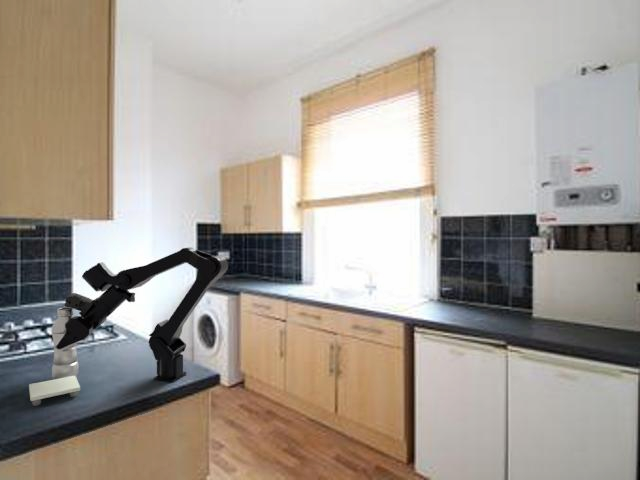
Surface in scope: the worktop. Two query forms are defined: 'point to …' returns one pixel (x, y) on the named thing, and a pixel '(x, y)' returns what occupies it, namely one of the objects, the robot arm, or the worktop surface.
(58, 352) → the plastic bottle
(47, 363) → the worktop surface
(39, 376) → the worktop surface
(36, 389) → the plate
